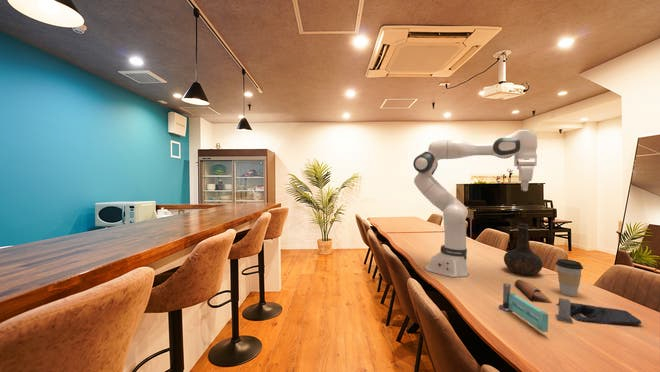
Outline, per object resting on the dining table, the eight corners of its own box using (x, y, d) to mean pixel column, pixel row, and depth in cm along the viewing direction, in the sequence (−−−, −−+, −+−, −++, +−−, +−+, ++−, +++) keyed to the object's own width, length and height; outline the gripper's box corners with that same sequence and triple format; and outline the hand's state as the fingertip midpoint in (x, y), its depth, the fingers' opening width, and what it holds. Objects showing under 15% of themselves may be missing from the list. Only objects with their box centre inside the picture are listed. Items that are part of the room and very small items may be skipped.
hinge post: (498, 309, 105) (499, 285, 105) (499, 304, 109) (499, 281, 109) (514, 313, 102) (514, 288, 102) (513, 308, 106) (514, 283, 106)
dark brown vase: (540, 271, 150) (541, 223, 150) (545, 281, 135) (546, 227, 135) (503, 265, 160) (504, 220, 159) (503, 274, 145) (505, 224, 144)
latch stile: (557, 319, 98) (557, 300, 97) (555, 315, 101) (556, 296, 100) (572, 323, 95) (573, 303, 95) (570, 319, 98) (571, 299, 98)
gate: (508, 308, 103) (509, 293, 103) (513, 308, 103) (513, 293, 103) (542, 332, 87) (543, 314, 87) (547, 331, 87) (548, 314, 87)
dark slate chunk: (650, 332, 91) (651, 319, 91) (573, 321, 97) (573, 309, 97) (617, 311, 105) (617, 299, 105) (551, 303, 112) (552, 292, 112)
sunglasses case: (554, 304, 110) (545, 289, 111) (537, 310, 112) (528, 296, 113) (534, 287, 127) (526, 274, 128) (519, 293, 129) (512, 280, 130)
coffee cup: (587, 299, 115) (589, 265, 115) (563, 297, 117) (564, 264, 116) (572, 290, 124) (573, 259, 124) (550, 288, 126) (550, 257, 126)
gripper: (515, 163, 138) (515, 189, 139) (518, 161, 121) (518, 191, 121) (530, 163, 135) (529, 190, 135) (536, 161, 118) (535, 191, 118)
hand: (524, 190), depth 128 cm, fingers open, 8 cm apart
